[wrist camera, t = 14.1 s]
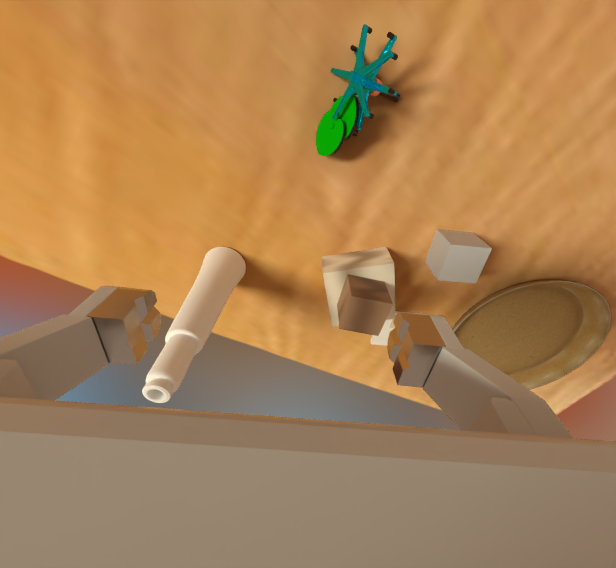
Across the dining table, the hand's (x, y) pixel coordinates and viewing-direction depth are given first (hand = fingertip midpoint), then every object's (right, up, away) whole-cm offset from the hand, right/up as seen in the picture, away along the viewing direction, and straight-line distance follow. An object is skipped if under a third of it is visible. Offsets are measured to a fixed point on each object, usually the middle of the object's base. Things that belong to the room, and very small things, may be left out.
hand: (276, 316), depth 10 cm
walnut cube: (+8, 0, +29) cm, 30 cm away
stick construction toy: (+6, +21, +22) cm, 31 cm away
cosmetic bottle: (-11, +4, +32) cm, 34 cm away
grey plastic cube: (+20, +6, +30) cm, 37 cm away
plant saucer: (+35, -7, +39) cm, 53 cm away
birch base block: (+8, +2, +33) cm, 34 cm away
